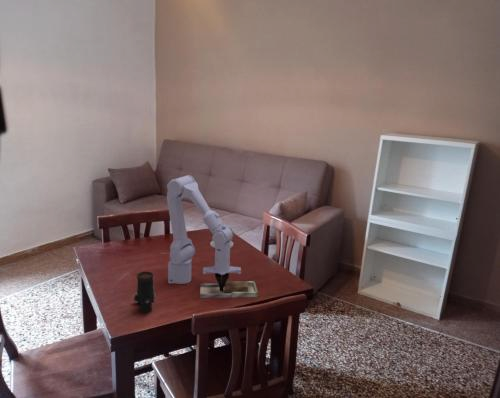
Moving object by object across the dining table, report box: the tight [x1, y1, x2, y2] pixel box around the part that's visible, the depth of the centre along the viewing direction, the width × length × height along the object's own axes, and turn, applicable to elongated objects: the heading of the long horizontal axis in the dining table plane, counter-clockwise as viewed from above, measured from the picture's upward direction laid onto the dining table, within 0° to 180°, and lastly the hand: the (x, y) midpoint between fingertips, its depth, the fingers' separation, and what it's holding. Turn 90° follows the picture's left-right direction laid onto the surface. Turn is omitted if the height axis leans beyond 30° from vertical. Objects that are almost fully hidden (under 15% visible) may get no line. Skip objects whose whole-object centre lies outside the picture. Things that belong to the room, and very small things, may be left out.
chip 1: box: [224, 281, 237, 293], centre depth 152 cm, size 4×4×3 cm
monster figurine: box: [209, 231, 235, 249], centre depth 198 cm, size 12×12×10 cm
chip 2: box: [236, 280, 248, 292], centre depth 153 cm, size 4×4×3 cm
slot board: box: [199, 280, 259, 299], centre depth 152 cm, size 22×9×3 cm, turn 97°
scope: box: [132, 271, 156, 314], centre depth 138 cm, size 8×14×10 cm
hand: (221, 289), depth 152 cm, fingers closed
